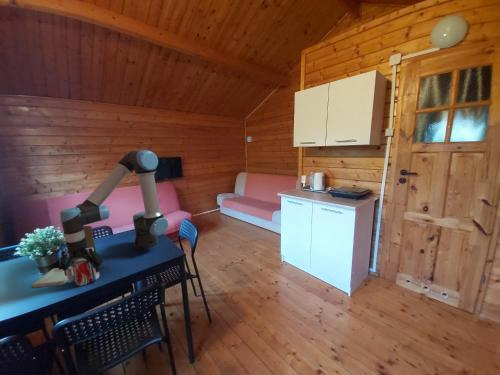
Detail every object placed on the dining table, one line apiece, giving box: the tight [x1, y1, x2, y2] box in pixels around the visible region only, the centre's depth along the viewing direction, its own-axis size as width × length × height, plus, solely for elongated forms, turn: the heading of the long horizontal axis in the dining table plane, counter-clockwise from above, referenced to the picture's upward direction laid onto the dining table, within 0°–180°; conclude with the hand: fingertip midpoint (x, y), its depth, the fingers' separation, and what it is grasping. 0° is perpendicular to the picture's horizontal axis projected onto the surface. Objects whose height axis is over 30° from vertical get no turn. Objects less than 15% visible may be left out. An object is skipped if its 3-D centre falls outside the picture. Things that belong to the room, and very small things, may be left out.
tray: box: [31, 266, 74, 289], centre depth 114 cm, size 14×14×2 cm
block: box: [66, 225, 97, 263], centre depth 132 cm, size 10×10×20 cm
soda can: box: [71, 258, 94, 287], centre depth 108 cm, size 7×7×12 cm
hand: (84, 279), depth 109 cm, fingers open, 12 cm apart
